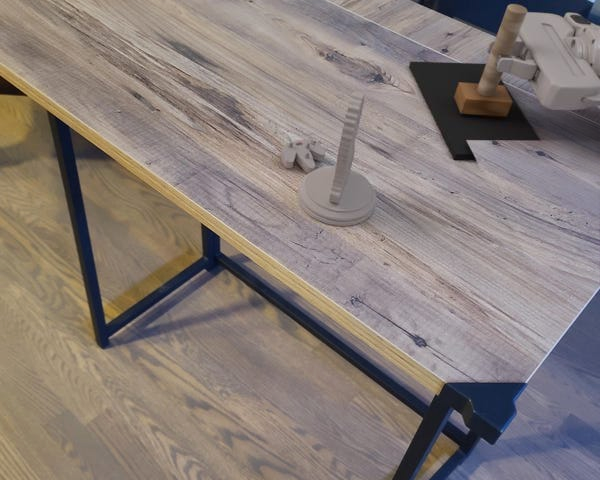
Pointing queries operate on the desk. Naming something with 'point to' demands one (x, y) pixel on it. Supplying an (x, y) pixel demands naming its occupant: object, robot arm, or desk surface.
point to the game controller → (302, 153)
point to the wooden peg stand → (492, 74)
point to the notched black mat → (454, 128)
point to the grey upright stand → (340, 181)
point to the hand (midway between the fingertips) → (493, 55)
